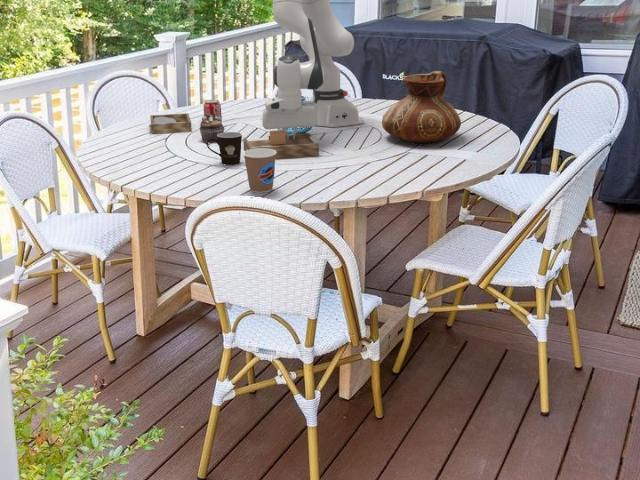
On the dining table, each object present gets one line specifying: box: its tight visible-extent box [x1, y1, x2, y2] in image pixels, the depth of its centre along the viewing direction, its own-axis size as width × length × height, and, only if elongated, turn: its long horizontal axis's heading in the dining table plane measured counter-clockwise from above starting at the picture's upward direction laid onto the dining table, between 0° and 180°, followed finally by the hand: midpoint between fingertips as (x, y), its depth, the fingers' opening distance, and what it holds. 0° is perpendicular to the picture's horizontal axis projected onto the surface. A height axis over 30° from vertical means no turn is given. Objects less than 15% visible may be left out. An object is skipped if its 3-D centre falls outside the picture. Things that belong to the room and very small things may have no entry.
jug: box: [381, 70, 462, 146], centre depth 302 cm, size 30×30×25 cm
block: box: [269, 129, 286, 145], centre depth 292 cm, size 5×5×4 cm
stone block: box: [153, 117, 176, 124], centre depth 331 cm, size 12×5×10 cm
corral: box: [149, 112, 192, 135], centre depth 330 cm, size 16×18×4 cm
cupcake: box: [199, 114, 225, 144], centre depth 308 cm, size 10×10×10 cm
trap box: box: [242, 132, 320, 160], centre depth 290 cm, size 25×17×4 cm
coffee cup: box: [242, 148, 277, 194], centre depth 247 cm, size 10×10×12 cm
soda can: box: [203, 99, 223, 123], centre depth 325 cm, size 7×7×12 cm
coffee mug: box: [206, 131, 243, 166], centre depth 278 cm, size 12×9×10 cm
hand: (290, 139), depth 294 cm, fingers closed
